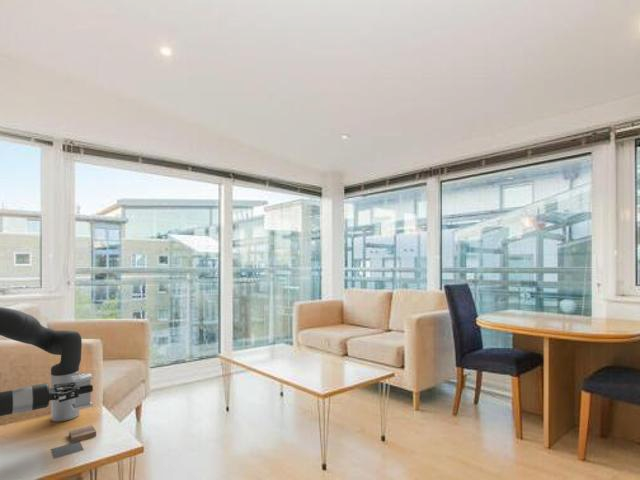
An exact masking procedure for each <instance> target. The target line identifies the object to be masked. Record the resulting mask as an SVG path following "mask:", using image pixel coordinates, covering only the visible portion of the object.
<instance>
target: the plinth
mask: <svg viewBox="0 0 640 480" xmlns="http://www.w3.org/2000/svg"><path fill="white" fill-rule="evenodd" d="M68 437H69V439H70V441H71V443H74V442H78V441H80V442H81V441H83V440H86V439H91V438H94V437H97V430H96V429H95V428H94V425H92V424H89V425H85V426H83V427H79V428H73V429H71V430H70V429H69V430H68Z"/></svg>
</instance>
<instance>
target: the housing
mask: <svg viewBox="0 0 640 480" xmlns="http://www.w3.org/2000/svg"><path fill="white" fill-rule="evenodd" d="M93 377H94V376H93V375H92V374H91V373H90V372H87V373H82V374H81V373H80V374H79V375H75V376H71V379H72V381H73V388H76V387H83V386H88V385H91V380H93ZM73 394H74V392H73ZM93 406H94V403H93V402H92V401H91V392H89V393H84V394H80V395H79V397H77V398H73V403H71V407H72V409H73V410H78V409H79V410H83V409H87V408H90V407H93Z"/></svg>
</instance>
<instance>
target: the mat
mask: <svg viewBox="0 0 640 480" xmlns="http://www.w3.org/2000/svg"><path fill="white" fill-rule="evenodd" d="M82 451H85V449H84V447H83V445H82V443H81V440H80V441H76V442H73V443H72V442H71V443H68V444H67V443H66V444H64V445H60V446H57V447H53V448H50V453H51V455H52V457H53V460H55V459H57V458H62V457H65V456H68V455H71V454H76V453H79V452H82Z"/></svg>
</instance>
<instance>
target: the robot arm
mask: <svg viewBox="0 0 640 480" xmlns="http://www.w3.org/2000/svg"><path fill="white" fill-rule="evenodd" d="M0 336H2V337H4V338H7V339H9V340H12V341H16V342H19V343H23V344H27V345H32V346H34V347H36V348H39V349H41V350H42V351H44V352H46V353H48V354H51V355H56V356H60V361H59V363H56V364H53V365H52V367H51V368H50V388H49V384H48V383H47V382H45V383H41V384H34V385H30V386H23V387H19V388H16V389H15V388H14V389H12V390H5V391H2V392H1V391H0V417H4V416H8V415H13V414H20V413H27V412H30V411H31V412H32V411H35V410H41V409H45V408H46V409H47V408H48V407H49V405H50V407H51V408H50V410H51V412H50V419H51V421H52V422H55V423H56V422H64V421H69V420H72V419H75V418H77V417H78V416H79V415H80V409H78V410H73V409H72V407H71V403H73V398H77V397H79V395H80V394H84V393H89V392H90V393H92V392H93V389H94V388H93V384H90V385H88V386H83V387H76V388H73V381H72V379H71V376H75V375H80V371H79V370H80V365H81V361H82V349H83V348H82V343H83V340H82V336H81V334H80V332H78V331H76V330H57V329H51V328H48V327H46V326H43V325H42V324H41V322H40V321H39V320H38V319H37V318H36V317H34V316H33V315H31V314H29V313H25V312H23V311H21V310H18V309H17V310H16V309H14V308H13V309H12V308H7V307H1V306H0ZM73 392H74V394H73ZM50 403H51V404H50Z"/></svg>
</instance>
